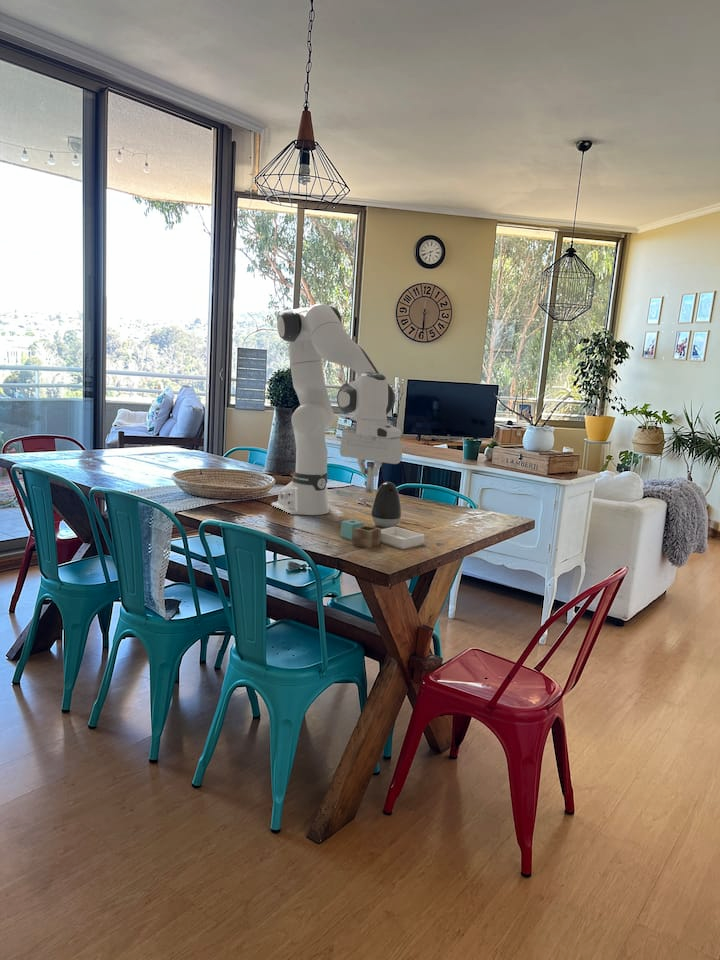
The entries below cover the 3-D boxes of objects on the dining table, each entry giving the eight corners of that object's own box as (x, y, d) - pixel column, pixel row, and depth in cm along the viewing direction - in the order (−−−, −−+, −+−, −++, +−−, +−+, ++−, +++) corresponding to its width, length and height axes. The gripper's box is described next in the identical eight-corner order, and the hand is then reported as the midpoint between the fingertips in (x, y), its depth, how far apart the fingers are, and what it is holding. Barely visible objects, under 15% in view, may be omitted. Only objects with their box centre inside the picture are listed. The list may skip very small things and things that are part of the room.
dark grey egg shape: (375, 530, 229) (378, 484, 226) (366, 522, 239) (369, 478, 236) (404, 529, 232) (408, 484, 229) (394, 522, 242) (397, 479, 239)
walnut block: (352, 544, 210) (353, 528, 209) (363, 540, 215) (364, 524, 214) (369, 548, 207) (370, 531, 206) (380, 544, 212) (381, 528, 211)
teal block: (340, 536, 219) (341, 520, 218) (351, 534, 222) (352, 518, 221) (351, 540, 215) (352, 524, 214) (363, 538, 219) (363, 522, 218)
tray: (372, 540, 216) (373, 530, 216) (394, 535, 224) (395, 526, 223) (402, 549, 208) (403, 539, 207) (424, 544, 215) (424, 534, 215)
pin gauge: (364, 491, 208) (365, 462, 206) (369, 490, 210) (371, 461, 208) (369, 493, 206) (371, 463, 205) (375, 492, 208) (376, 462, 206)
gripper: (336, 425, 207) (334, 471, 210) (394, 432, 196) (391, 481, 198) (349, 424, 212) (347, 469, 215) (406, 431, 201) (403, 478, 203)
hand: (369, 475), depth 206 cm, fingers closed on pin gauge, 2 cm apart
